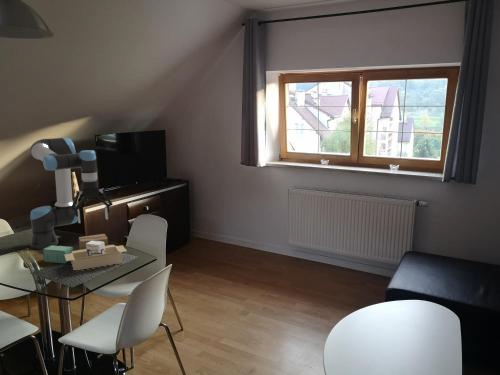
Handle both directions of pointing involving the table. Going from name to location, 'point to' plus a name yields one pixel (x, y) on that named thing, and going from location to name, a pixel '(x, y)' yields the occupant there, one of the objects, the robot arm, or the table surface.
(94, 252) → the ink box
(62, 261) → the box
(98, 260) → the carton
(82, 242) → the stand
